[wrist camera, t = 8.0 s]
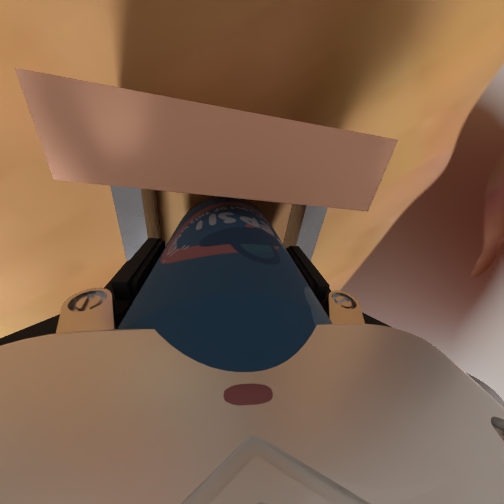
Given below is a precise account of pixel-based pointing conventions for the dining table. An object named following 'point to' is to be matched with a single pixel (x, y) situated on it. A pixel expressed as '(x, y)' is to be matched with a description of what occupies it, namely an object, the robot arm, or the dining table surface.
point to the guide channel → (147, 223)
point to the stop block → (198, 146)
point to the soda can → (228, 295)
